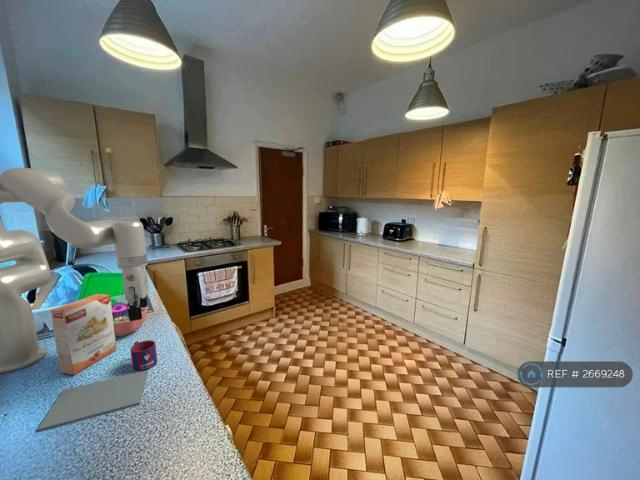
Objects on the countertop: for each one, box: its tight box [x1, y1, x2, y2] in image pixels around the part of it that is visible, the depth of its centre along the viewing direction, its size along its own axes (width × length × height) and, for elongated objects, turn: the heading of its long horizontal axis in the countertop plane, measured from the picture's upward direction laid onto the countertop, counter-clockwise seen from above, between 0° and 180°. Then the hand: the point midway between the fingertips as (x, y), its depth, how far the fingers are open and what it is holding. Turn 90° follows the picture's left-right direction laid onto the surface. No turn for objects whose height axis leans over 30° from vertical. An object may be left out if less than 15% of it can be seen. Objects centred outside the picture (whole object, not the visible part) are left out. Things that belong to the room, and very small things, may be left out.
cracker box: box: [50, 293, 117, 376], centre depth 86 cm, size 14×6×21 cm, turn 168°
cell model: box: [111, 302, 149, 337], centre depth 105 cm, size 17×20×11 cm
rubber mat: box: [37, 370, 149, 433], centre depth 72 cm, size 20×14×1 cm
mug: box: [129, 339, 158, 373], centre depth 87 cm, size 7×10×7 cm
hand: (139, 313), depth 84 cm, fingers open, 9 cm apart
